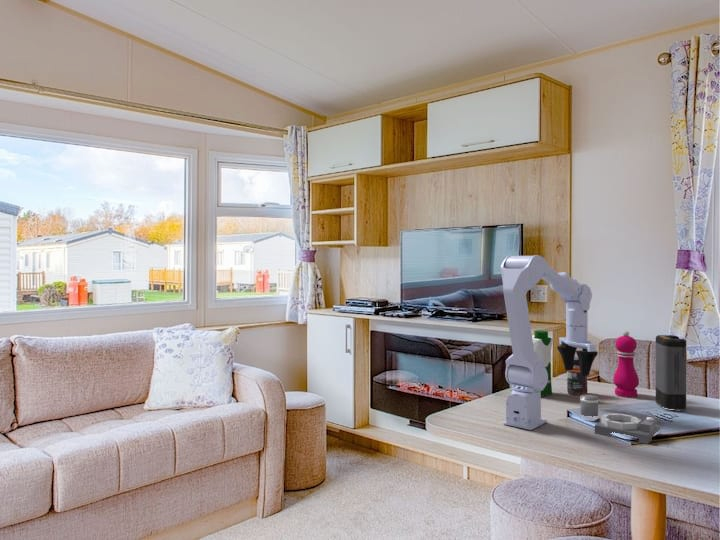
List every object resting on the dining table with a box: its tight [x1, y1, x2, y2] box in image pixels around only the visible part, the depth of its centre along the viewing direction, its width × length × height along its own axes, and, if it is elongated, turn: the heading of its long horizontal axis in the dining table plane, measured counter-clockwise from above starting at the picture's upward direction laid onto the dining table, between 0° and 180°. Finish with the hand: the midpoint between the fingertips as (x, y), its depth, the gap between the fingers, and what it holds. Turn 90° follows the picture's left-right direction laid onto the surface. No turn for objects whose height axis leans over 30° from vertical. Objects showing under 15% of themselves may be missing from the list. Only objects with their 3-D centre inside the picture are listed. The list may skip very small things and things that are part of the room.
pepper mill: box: [612, 330, 640, 398], centre depth 172 cm, size 7×7×20 cm
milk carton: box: [532, 330, 554, 398], centre depth 175 cm, size 9×9×20 cm
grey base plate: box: [594, 412, 661, 445], centre depth 136 cm, size 10×12×4 cm
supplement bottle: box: [566, 356, 588, 397], centre depth 174 cm, size 6×6×11 cm
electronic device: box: [655, 334, 687, 412], centre depth 158 cm, size 9×6×20 cm, turn 168°
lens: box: [579, 394, 599, 417], centre depth 148 cm, size 5×5×6 cm
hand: (576, 372), depth 159 cm, fingers open, 7 cm apart
